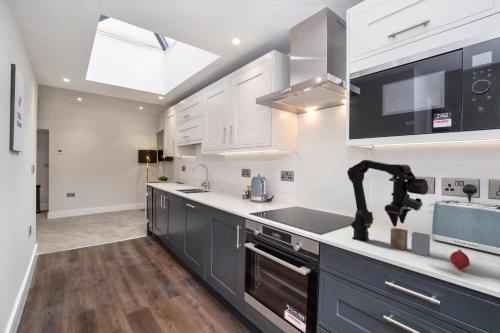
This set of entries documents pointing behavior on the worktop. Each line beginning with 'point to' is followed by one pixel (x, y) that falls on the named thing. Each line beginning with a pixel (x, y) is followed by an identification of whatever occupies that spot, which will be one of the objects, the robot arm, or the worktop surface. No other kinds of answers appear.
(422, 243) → the grey block
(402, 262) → the worktop surface
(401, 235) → the walnut block
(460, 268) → the onion
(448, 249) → the worktop surface
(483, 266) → the worktop surface
